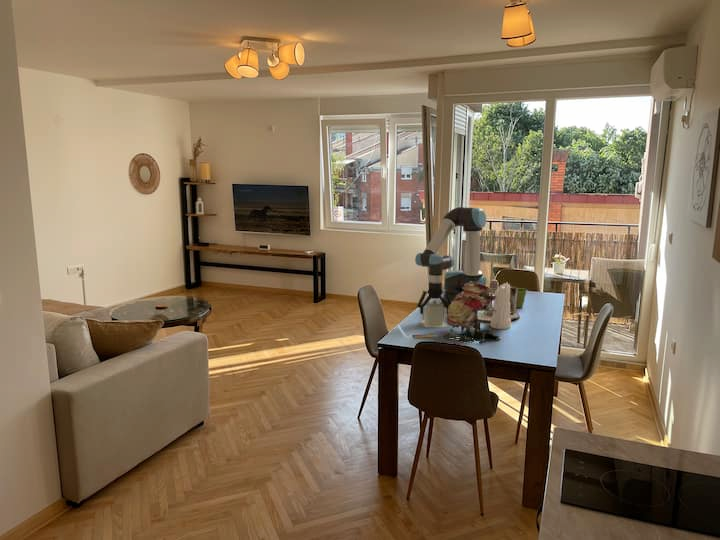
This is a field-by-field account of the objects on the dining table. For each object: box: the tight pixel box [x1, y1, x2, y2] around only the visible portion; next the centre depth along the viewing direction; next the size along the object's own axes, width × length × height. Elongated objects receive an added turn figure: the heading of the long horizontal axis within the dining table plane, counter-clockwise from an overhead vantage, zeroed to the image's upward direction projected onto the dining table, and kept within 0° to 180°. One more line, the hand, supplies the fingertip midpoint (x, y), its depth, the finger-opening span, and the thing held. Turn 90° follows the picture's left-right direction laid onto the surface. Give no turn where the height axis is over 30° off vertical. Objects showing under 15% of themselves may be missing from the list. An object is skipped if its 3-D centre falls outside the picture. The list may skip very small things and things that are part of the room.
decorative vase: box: [490, 282, 512, 330], centre depth 295 cm, size 11×11×25 cm
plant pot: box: [516, 288, 528, 309], centre depth 341 cm, size 12×12×11 cm
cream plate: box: [420, 320, 449, 328], centre depth 298 cm, size 13×13×3 cm
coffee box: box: [510, 285, 518, 314], centre depth 327 cm, size 9×6×16 cm
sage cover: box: [424, 300, 444, 326], centre depth 297 cm, size 8×8×13 cm
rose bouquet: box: [442, 281, 500, 343], centre depth 275 cm, size 26×29×30 cm
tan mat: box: [412, 334, 436, 340], centre depth 282 cm, size 16×11×1 cm
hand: (434, 319), depth 298 cm, fingers open, 12 cm apart
